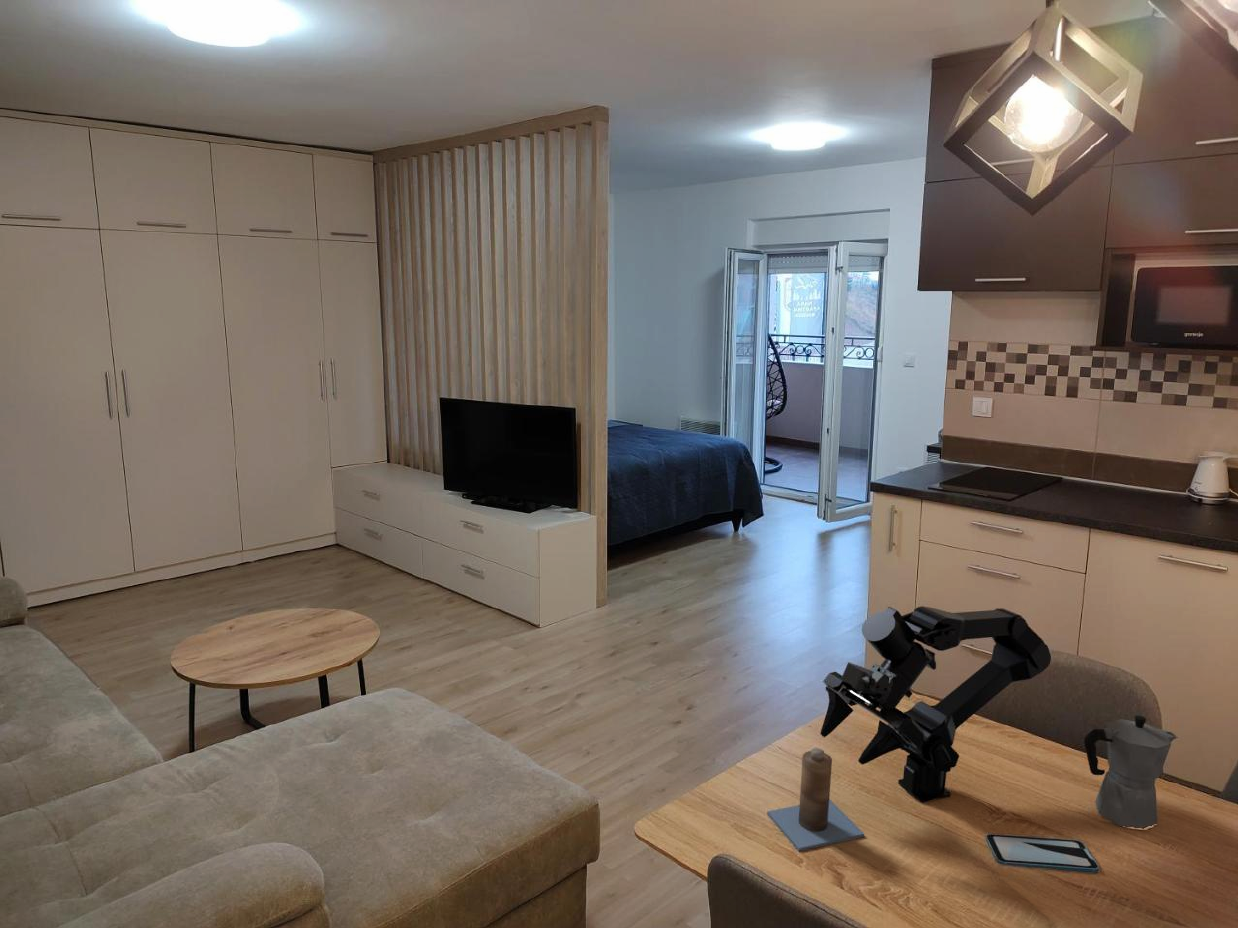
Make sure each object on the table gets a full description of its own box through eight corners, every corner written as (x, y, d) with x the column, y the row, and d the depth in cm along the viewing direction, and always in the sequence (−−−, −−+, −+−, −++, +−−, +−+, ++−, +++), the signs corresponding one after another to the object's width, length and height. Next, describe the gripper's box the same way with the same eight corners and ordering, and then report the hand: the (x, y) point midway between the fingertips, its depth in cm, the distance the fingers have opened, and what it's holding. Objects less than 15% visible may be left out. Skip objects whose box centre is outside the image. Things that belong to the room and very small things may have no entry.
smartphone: (983, 832, 137) (1081, 839, 135) (983, 838, 137) (1081, 845, 135) (998, 862, 130) (1101, 869, 128) (997, 867, 130) (1101, 875, 128)
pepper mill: (825, 815, 140) (830, 745, 138) (828, 832, 136) (833, 760, 133) (797, 813, 141) (801, 742, 138) (799, 829, 136) (804, 757, 134)
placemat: (829, 801, 145) (829, 798, 145) (864, 836, 136) (864, 833, 136) (767, 813, 141) (767, 811, 141) (798, 850, 132) (798, 848, 132)
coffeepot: (1145, 798, 148) (1160, 702, 145) (1182, 831, 139) (1199, 730, 135) (1059, 798, 148) (1072, 702, 144) (1090, 831, 138) (1105, 730, 135)
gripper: (835, 626, 145) (779, 698, 143) (917, 670, 129) (855, 752, 126) (867, 661, 150) (813, 731, 148) (949, 707, 134) (891, 787, 131)
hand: (840, 748), depth 138 cm, fingers open, 9 cm apart
